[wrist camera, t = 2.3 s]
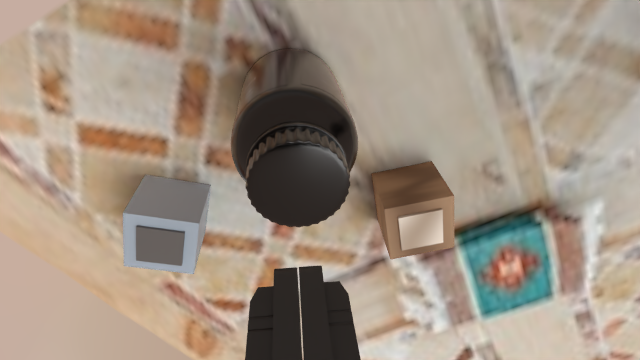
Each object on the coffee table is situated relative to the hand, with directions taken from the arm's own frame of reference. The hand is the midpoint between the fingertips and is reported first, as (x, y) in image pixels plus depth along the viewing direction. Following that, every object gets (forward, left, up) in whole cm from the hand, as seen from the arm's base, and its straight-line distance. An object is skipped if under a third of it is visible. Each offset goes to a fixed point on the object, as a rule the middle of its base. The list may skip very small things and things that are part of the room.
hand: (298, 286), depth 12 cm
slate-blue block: (+10, +9, -18) cm, 22 cm away
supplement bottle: (0, 0, -18) cm, 18 cm away
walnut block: (-9, +9, -18) cm, 22 cm away
